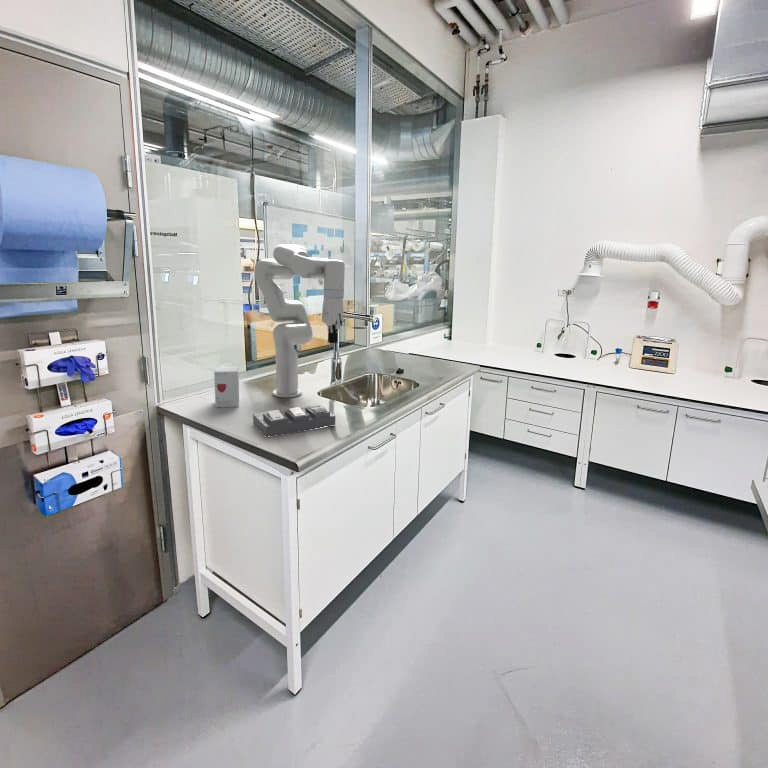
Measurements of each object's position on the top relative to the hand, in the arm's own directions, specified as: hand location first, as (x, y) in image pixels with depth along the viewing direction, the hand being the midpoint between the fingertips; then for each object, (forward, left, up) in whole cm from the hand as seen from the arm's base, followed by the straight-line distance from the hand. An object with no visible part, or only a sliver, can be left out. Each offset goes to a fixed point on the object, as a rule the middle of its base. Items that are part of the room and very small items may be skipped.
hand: (332, 342), depth 172 cm
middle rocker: (+10, -18, -23) cm, 31 cm away
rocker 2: (+10, -10, -23) cm, 27 cm away
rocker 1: (+10, -26, -23) cm, 37 cm away
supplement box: (-27, -33, -29) cm, 52 cm away
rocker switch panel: (+7, -18, -28) cm, 35 cm away
